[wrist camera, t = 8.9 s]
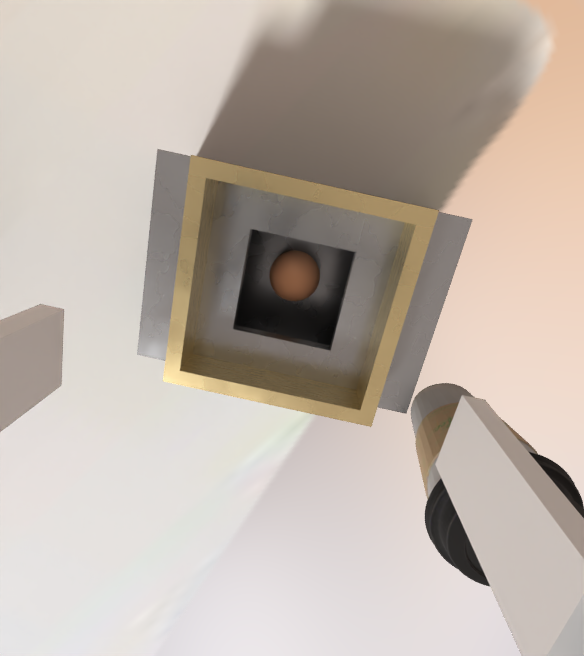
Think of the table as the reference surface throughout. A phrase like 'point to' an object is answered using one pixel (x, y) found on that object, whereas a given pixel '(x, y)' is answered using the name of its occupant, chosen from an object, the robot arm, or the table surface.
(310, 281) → the ball
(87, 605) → the table surface
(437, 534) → the coffee cup
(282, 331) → the open square box
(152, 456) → the table surface
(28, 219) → the table surface
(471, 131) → the table surface
